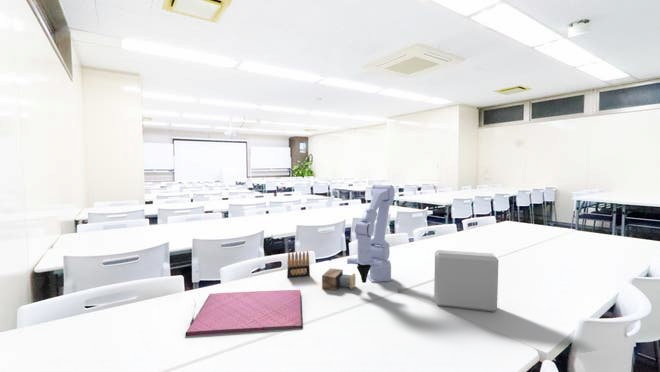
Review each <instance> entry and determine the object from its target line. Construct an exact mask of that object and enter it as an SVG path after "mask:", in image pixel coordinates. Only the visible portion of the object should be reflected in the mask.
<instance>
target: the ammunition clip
mask: <svg viewBox="0 0 660 372" xmlns="http://www.w3.org/2000/svg"><path fill="white" fill-rule="evenodd" d="M309 256H310V255H309V251H308V250H307V251H306V253H305V251H302V253H301V251H299V253H298V252H297V251H296V252H295V254H294V252H293V251H292V253H290V252H288V254H287V262H286V263H287V271H286V272H287V273H286V274H287V276H286V277H287V278H288V279H292V278H306V277H311V271H310V269H311V268H310V257H309Z"/></svg>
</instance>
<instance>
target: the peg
mask: <svg viewBox="0 0 660 372" xmlns="http://www.w3.org/2000/svg"><path fill="white" fill-rule="evenodd" d="M339 285H341V286H343V287H349V289H350V290H353V289H354V288H355V286H356V273H353V274H341V275H340V276H339ZM341 286H340V287H341Z"/></svg>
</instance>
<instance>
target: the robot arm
mask: <svg viewBox="0 0 660 372" xmlns="http://www.w3.org/2000/svg"><path fill="white" fill-rule="evenodd" d="M370 194H371V195H370V196H371V199H370V203H369V207H368V208H365V210H364V212H363V214H362V216H361V219H360V221H358V222H356V224H355V228H354V231H355V232H354V233H355V236H356V237H355V238H356V240H357V258H354V257H353V258H347V260H346V261H347V263H346V264H347V265H351V264H352V265H357V266H356V268H357V270H358V272H359V275H360V278H361V283H362V284H363V283H365V284H366V282H367V278H368V279H369V281H370V282H371V283H377V282H391V281H392V264H391V261H390V259H389V258H390V244H389V242H387V240H385V237H386V231H387V225H388V219H389V218H388V217H389V211H390V206H391V205H393V204H394V200H395V188H394V186H393V185H392V184H391V185H390V184H389V185H385V184H384V185H383V184H382V185H379V184H374V185H372V186H371V189H370ZM375 222H376V223H375ZM375 224H376V225H375ZM373 235H374V236H373ZM372 236H373V238H372Z"/></svg>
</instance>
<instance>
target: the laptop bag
mask: <svg viewBox="0 0 660 372" xmlns="http://www.w3.org/2000/svg"><path fill="white" fill-rule="evenodd" d="M196 306H197V305H196V300H195V299H194V307H196ZM302 308H303V306H302V293H301V290H300V289H287V290H286V289H284V290H283V289H282V290H261V291H260V290H259V291H238V292H237V291H235V292H233V291H231V292H216V293H215V292H213V293H209V295H208V296H207V298H206V299H205V300H204V303H203V305H201V308H200V310H199V311H198V313H197V314H196V316H195V318H194V315H195V314H193V317H192V319H191V321H190V323H189V325H190V326H189V327H188V328H187V330H186V332H185V334H184V335H185V337H188V336H199V335H209V334H221V333H233V332H244V331H245V332H246V331H247V332H249V331H261V330H262V331H263V330H274V329H275V330H276V329H277V330H278V329H291V328H294V329H295V328H301V329H303V328H304V326H303V309H302ZM194 313H195V310H194Z"/></svg>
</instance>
